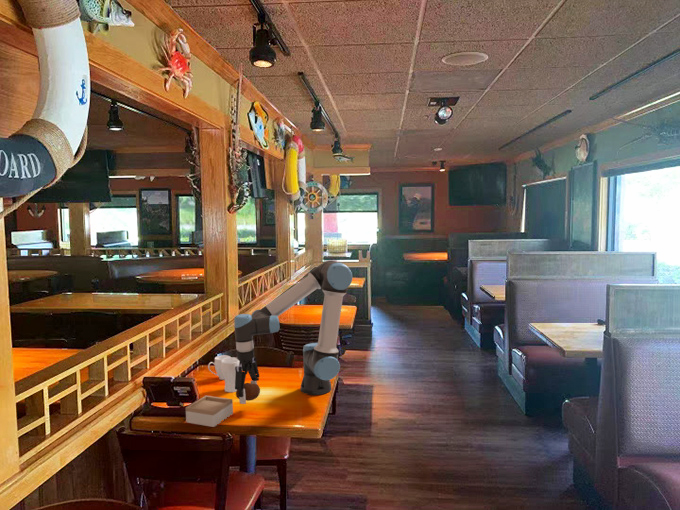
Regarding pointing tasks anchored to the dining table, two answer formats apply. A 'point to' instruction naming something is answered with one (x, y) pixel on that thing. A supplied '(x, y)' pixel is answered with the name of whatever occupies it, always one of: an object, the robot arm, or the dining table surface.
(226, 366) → the cup
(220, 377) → the mug
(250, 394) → the potato
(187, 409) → the tray
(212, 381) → the dining table surface
